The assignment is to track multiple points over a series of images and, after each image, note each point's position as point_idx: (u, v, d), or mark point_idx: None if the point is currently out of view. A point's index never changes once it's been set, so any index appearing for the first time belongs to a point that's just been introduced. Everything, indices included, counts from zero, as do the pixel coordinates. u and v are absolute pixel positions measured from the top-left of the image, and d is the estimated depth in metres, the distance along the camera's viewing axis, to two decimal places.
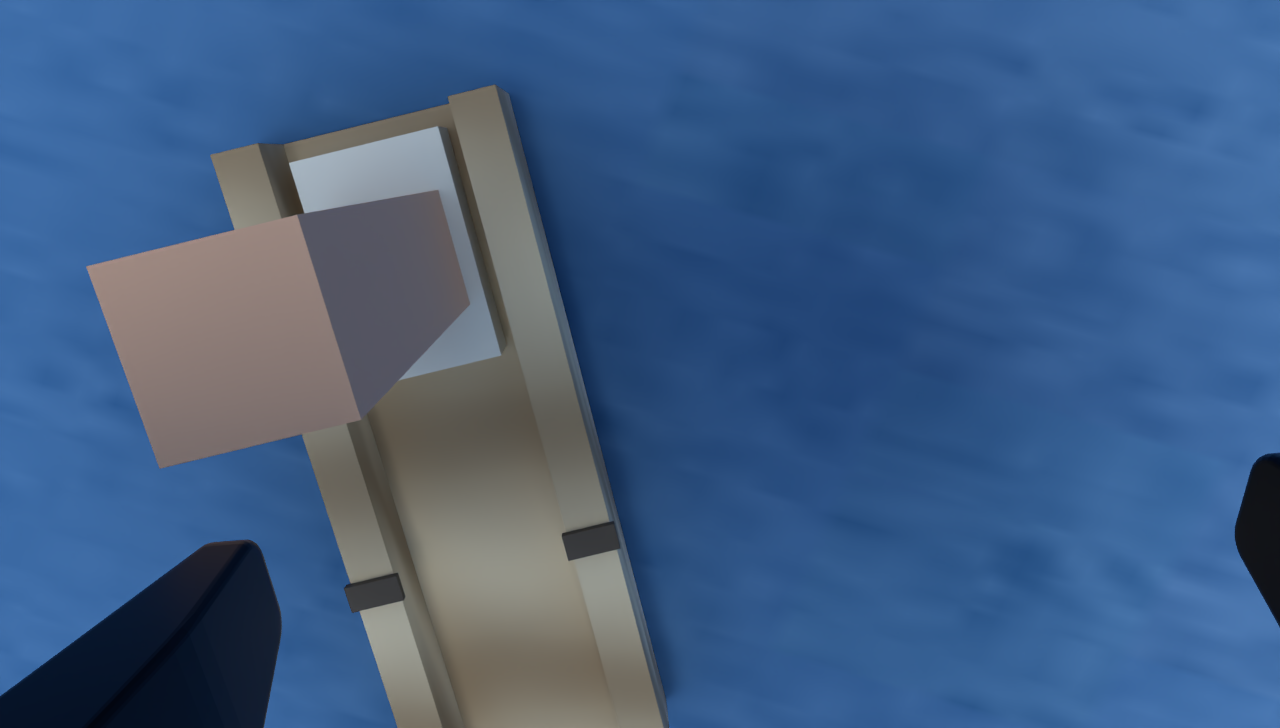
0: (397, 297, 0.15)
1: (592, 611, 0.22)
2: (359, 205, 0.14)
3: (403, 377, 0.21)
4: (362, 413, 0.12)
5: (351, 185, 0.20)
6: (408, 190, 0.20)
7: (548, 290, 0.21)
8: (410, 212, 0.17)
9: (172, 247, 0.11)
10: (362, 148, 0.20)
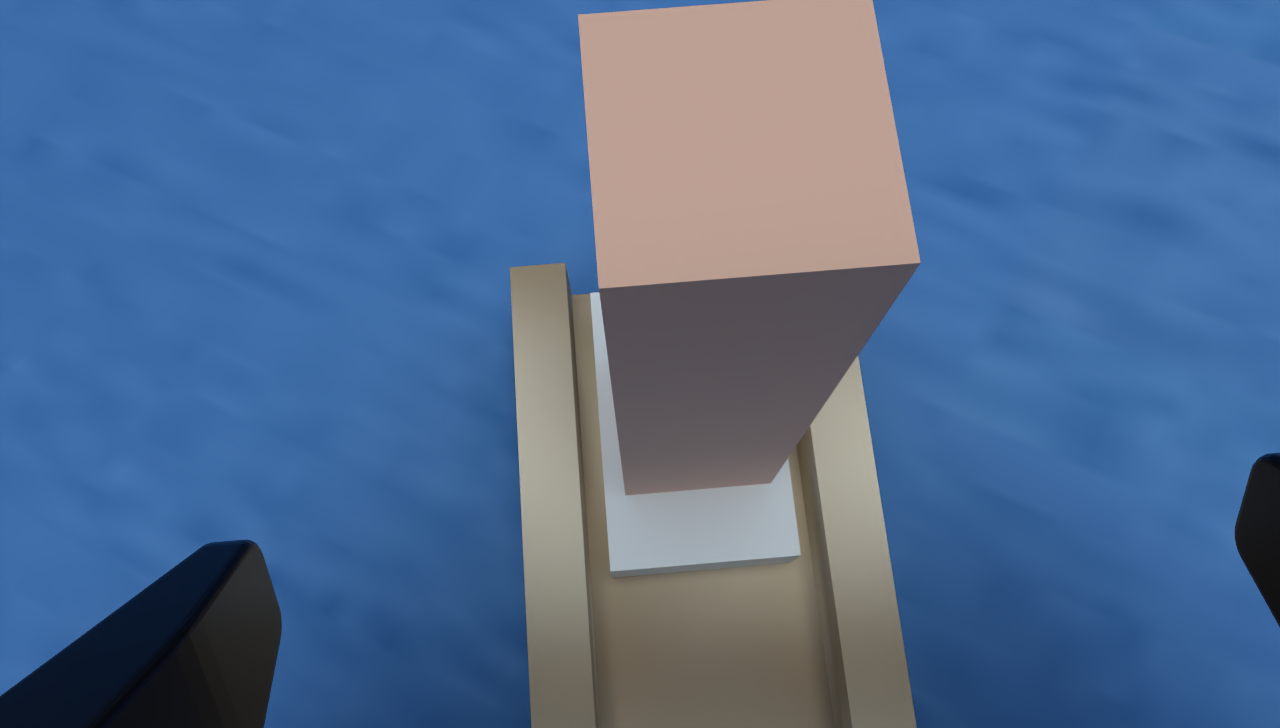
0: None
1: None
2: None
3: (670, 564, 0.16)
4: (916, 262, 0.08)
5: None
6: None
7: (875, 476, 0.16)
8: None
9: (696, 9, 0.08)
10: None
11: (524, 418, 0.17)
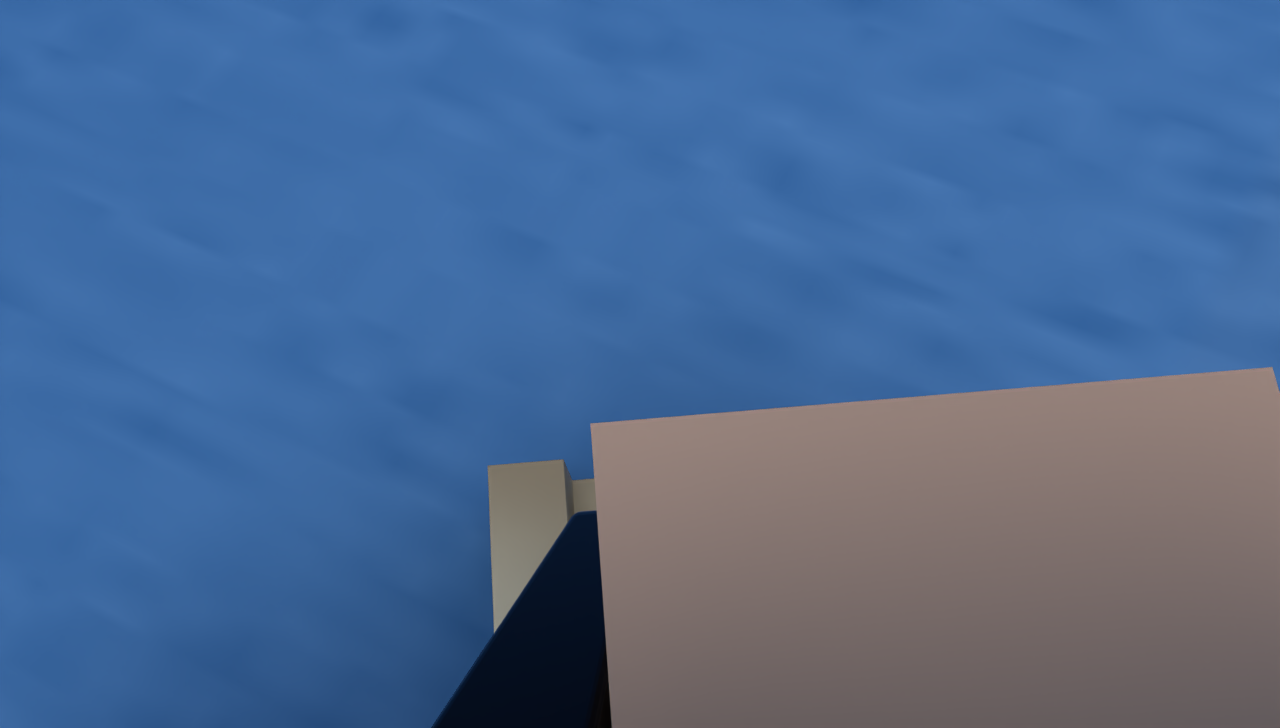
0: None
1: None
2: None
3: None
4: None
5: None
6: None
7: None
8: None
9: (868, 407, 0.04)
10: None
11: None
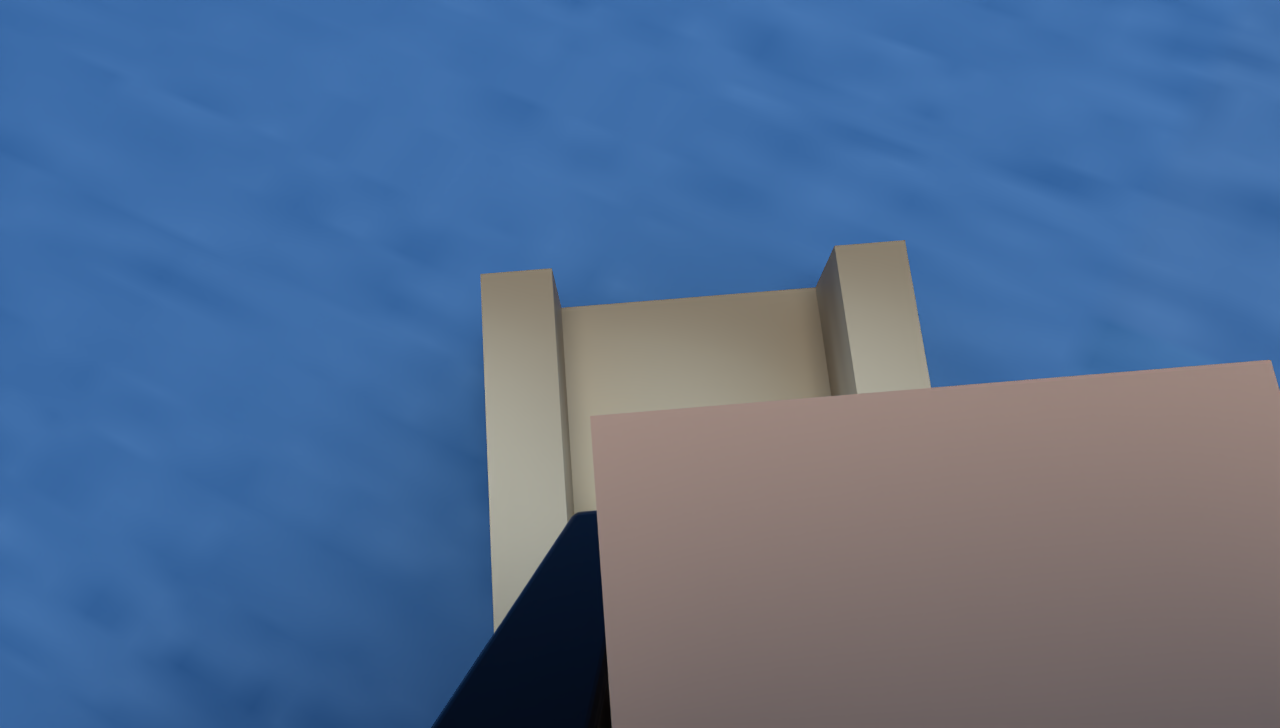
0: None
1: None
2: None
3: None
4: None
5: None
6: None
7: None
8: None
9: (867, 400, 0.04)
10: None
11: (497, 472, 0.13)
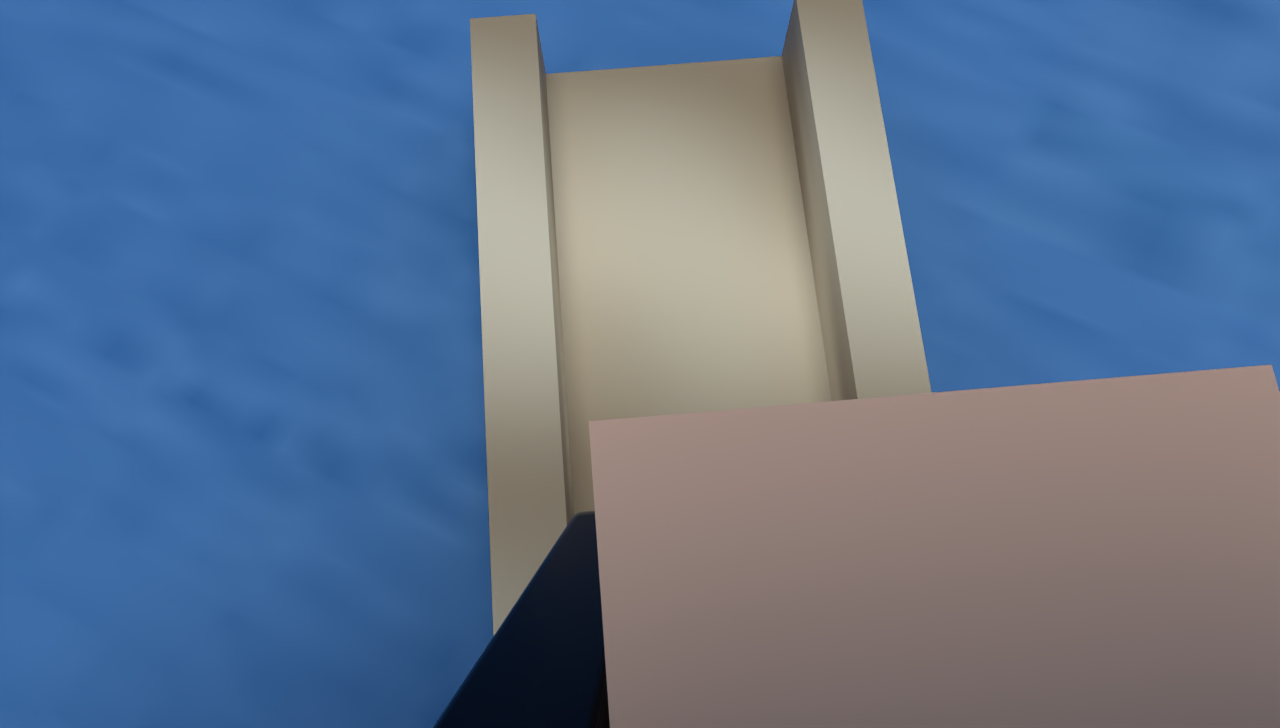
0: None
1: None
2: None
3: None
4: None
5: None
6: None
7: (903, 250, 0.14)
8: None
9: (866, 405, 0.04)
10: None
11: (485, 184, 0.14)
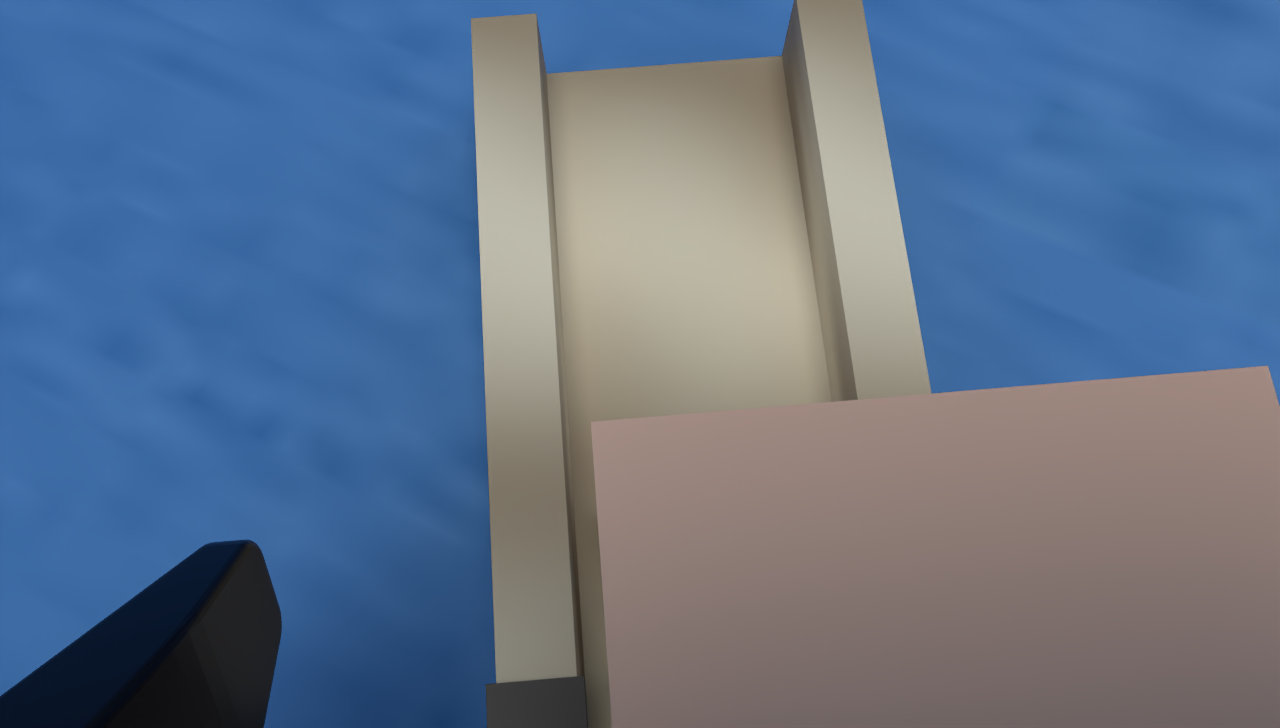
0: None
1: None
2: None
3: None
4: None
5: None
6: None
7: (903, 249, 0.14)
8: None
9: (866, 406, 0.04)
10: None
11: (486, 183, 0.14)
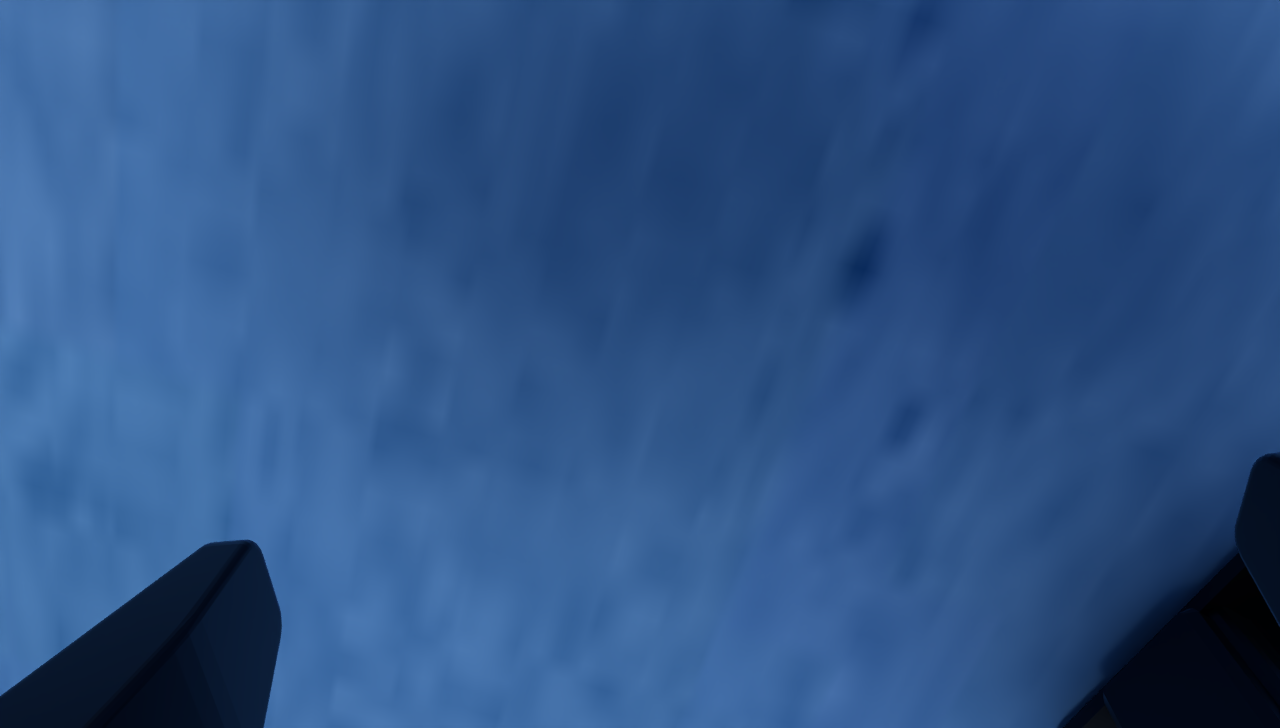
0: None
1: None
2: None
3: None
4: None
5: None
6: None
7: None
8: None
9: None
10: None
11: None
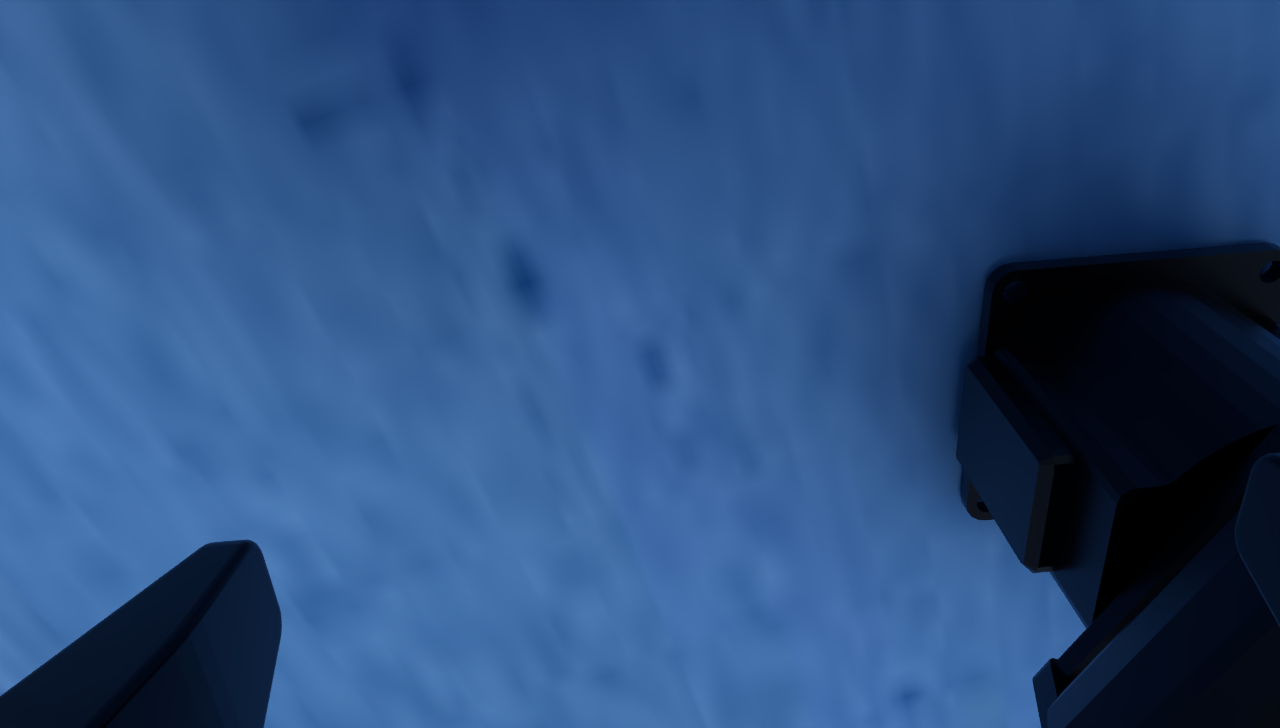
0: None
1: None
2: None
3: None
4: None
5: None
6: None
7: None
8: None
9: None
10: None
11: None
